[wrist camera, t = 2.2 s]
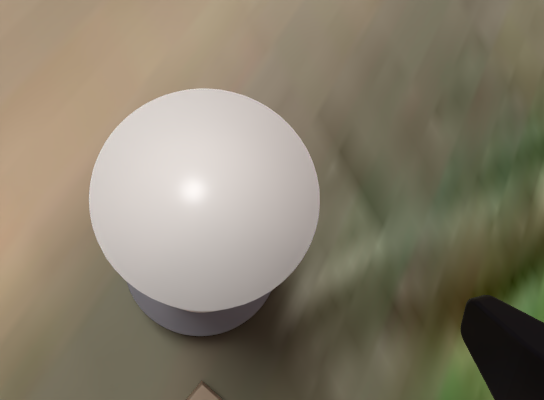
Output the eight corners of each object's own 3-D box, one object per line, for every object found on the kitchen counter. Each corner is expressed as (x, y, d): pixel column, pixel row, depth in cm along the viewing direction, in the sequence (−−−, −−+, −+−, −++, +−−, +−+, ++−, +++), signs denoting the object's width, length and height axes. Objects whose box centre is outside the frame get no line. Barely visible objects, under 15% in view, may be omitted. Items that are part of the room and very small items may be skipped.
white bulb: (300, 255, 20) (420, 186, 9) (206, 366, 18) (219, 438, 8) (198, 164, 20) (199, -5, 9) (97, 266, 18) (-38, 202, 8)
